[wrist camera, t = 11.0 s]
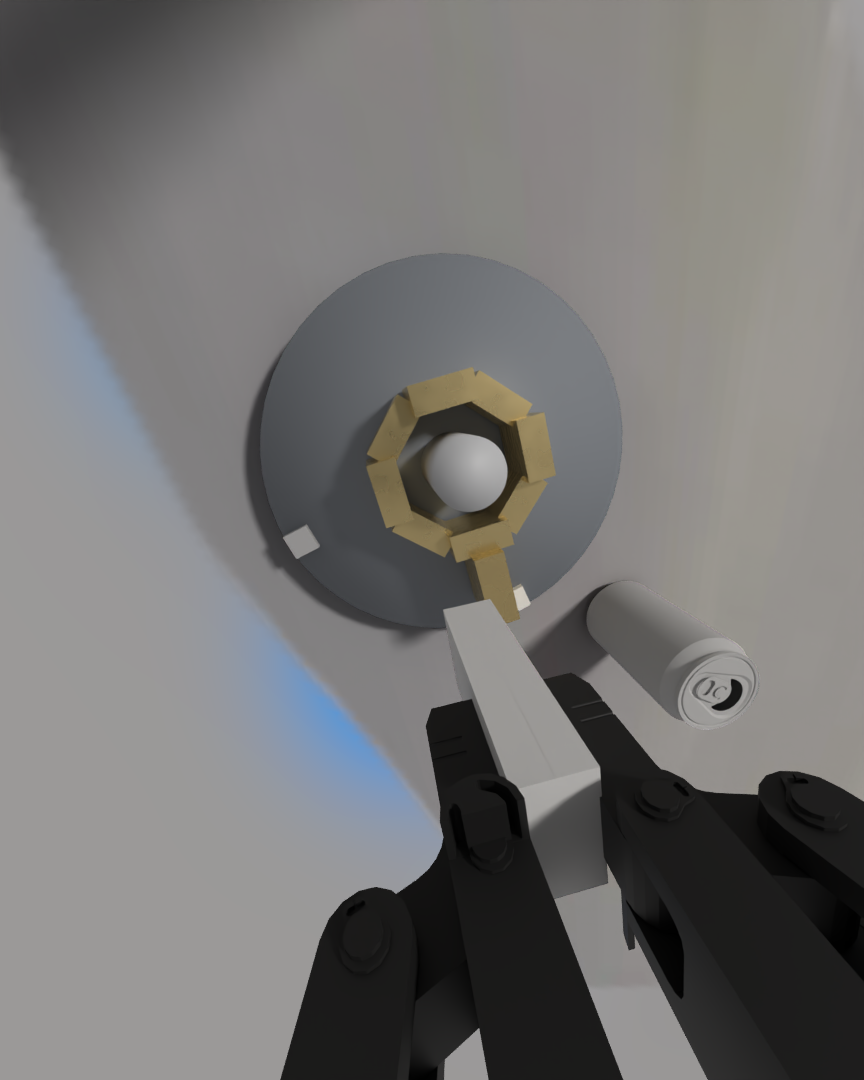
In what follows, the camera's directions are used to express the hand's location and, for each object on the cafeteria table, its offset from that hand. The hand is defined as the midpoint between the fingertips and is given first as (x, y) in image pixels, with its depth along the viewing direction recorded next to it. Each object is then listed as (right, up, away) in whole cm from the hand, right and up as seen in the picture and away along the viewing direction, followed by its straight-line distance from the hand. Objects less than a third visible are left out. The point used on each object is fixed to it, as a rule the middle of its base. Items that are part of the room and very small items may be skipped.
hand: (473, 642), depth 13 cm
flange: (0, +9, +19) cm, 21 cm away
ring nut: (+1, +6, +17) cm, 18 cm away
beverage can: (+15, -3, +25) cm, 29 cm away
